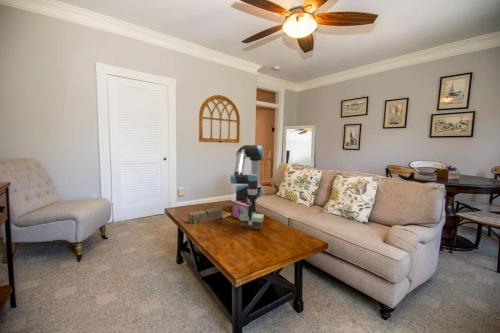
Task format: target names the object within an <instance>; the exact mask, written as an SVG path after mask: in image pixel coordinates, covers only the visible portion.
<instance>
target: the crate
mask: <svg viewBox="0 0 500 333" xmlns="http://www.w3.org/2000/svg"><path fill="white" fill-rule="evenodd" d="M263 222H264V220H263V221H262V222H252V225H248V221H242V220H240V228H244V229H254V230H255V229H256V230H262V229H263V226H264V225H263V224H264V223H263Z"/></svg>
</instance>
